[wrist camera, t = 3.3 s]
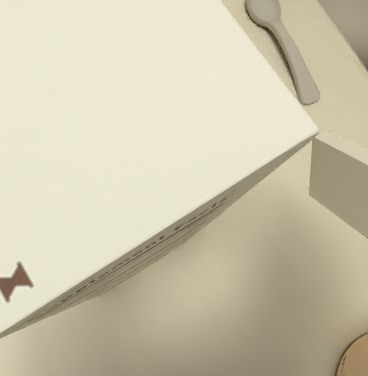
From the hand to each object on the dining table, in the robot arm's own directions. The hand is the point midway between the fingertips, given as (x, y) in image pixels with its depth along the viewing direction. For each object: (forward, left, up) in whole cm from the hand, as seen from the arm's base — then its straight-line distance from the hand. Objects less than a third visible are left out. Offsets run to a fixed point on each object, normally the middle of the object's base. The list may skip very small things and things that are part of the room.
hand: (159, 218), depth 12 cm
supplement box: (-2, +3, -12) cm, 13 cm away
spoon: (+14, +15, -13) cm, 25 cm away
